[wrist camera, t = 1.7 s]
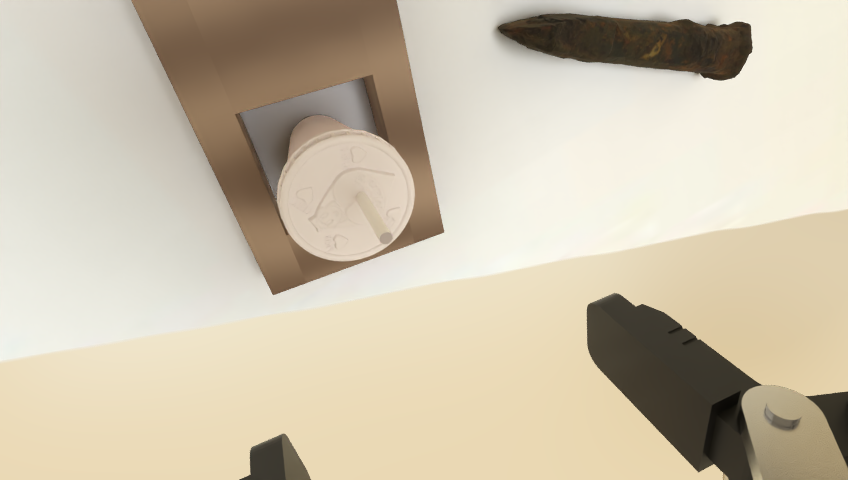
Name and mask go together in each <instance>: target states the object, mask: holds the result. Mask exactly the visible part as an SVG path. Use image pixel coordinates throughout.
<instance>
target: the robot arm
mask: <svg viewBox="0 0 848 480" xmlns="http://www.w3.org/2000/svg"><path fill="white" fill-rule="evenodd" d="M587 344H588V350H589V353H590V355H591V357H592V359H593V361H594V363H595V364H596V365H597V367H598V368H599V369H600V370H601V371H602V372H603V373H604V374H605V375H606V376H607V377H608V378H609V379H610V380H611V382H613V384H614V385H615V386H616V387H617V388H618V389H619V390H620V391H621V392H622V393H623V394H624V395H625V396H626V397H627V398H628V399H629V400H630V401H631V402H632V403H633V404H634V406H635V407H636V408H637V409H638V410H639V411H640V412H641V413H642V414H643V415H644V416H645V417H646V418H647V419H648V420H649V421H650V422H651V423H652V424H653V425H654V426H655V427H656V428H657V429H658V430H659V432H660V433H661V434H662V435H663V436H664V437H665V438H666V439H667V440H668V441H669V442H670V443H671V444H672V445H673V446H674V447H675V448H676V449H677V450H678V451H679V452H680V453H681V455H682V456H684V458H685V459H686V460H687V461H688V462H689V463H690V464H691V465H692V466H693V467H694V468H695V469H696V470H697V471H698V472H700V471H701V470H704V469H705V468H707V467H709V466H711V465H713V464H715V465H716V466H717V467H718V468H719V469H720V470H721V471H722V472H723V480H848V392H840V393H832V394H824V395H816V396H804V395H802V394H800V393H798V392H796V391H794V390H791V389H788V388H785V387H780V386H775V385H761V384H759V383H757V382H756V381H754V380H753V379H752V378H750V377H749V376H748V375H746V374H745V373H744V372H742V371H741V370H740V369H738V368H737V367H736V366H734V365H733V364H732V363H731V362H729V361H728V360H727V359H725V358H724V357H722V356H721V355H720V354H719V353H717V352H716V351H715V350H713V349H712V348H711V347H709V346H708V345H707V344H705V343H704V342H703V341H701V340H697V338H696V336H695V335H693V334H692V333H691V332H689V331H688V330H687V329H683V328H682V326H681V325H680V324H679V323H677V322H676V321H675V320H673V319H672V318H671V317H669V316H668V315H667V314H665V313H664V312H661V311H659V310H656V309H654V308H651V307H649V306H646V305H643V304H641V305H639V306H637V307H635V306H634V305H632V303H630V302H629V301H628V300H626V299H625V298H624V297H623V296H621V295H619V294H615V293H614V294H611V295H609V296H607V297H604V298H602V299H600V300H597V301H595V302H593V303H590V304H589V305H588V307H587ZM250 472H251V475H249V476H247V477H244V478H242V479H240V480H311V479H310V477H309V474H308V472H307V470H306V468H305V466H304V465H303V463H302V461H301V459H300V458H299V456H298V454H297V452H296V451H295V449H294V447H293V446H292V444H291V442H290V441H289V439H288V437H287V436H286V435H285V434H281V435H279V436H277V437H274V438H272V439H270V440H268V441H265V442H263V443H260V444H258V445H256V446H253V447H252V448H251V451H250Z"/></svg>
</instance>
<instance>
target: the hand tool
mask: <svg viewBox="0 0 848 480" xmlns="http://www.w3.org/2000/svg"><path fill="white" fill-rule="evenodd" d="M499 30H500V32H501V33H503V34H504V35H505V36H507V37H509V38H511V39H513V40H515V41H517V42H518V43H519V44H522V45H524V46H526V47H527V48H529V49H533V50H536V51H540V52H543V53H546V54H549V55H553V56H557V57H560V58H571V59H575V60H578V61H582V62H602V63H613V64H624V65H631V66H637V67H645V68H655V69H669V70H676V71H688V72H695V73H700V74H701V75H702V76H703V77H704V78H710V79H713V80H720V81H721V80H726V79H731V78H735V77H736V76H737V75H738V74H739V73H740V71H741V69H742V67H743V66H744V64H745V63H746V60H747V58H748V56H749V54H750V53H752V39H751V26H750V25H749V24H748V23H744V22H734V23H732V24H729V25H726V24H723V25H720V26H716V25H712V24H707V25H706V26H704V25H700V24H697V23H695V22H692V21H691V20H688V19H683V20H677V21H673V22H670V23H668V22H660V21H648V20H631V19H619V18H609V17H601V16H584V15H577V14H547V15H540V16H538V17H532V18H529V19H523V20H518V21H515V22H511V23H506V24H503V25H501V26H500V27H499Z"/></svg>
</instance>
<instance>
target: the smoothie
mask: <svg viewBox="0 0 848 480" xmlns="http://www.w3.org/2000/svg"><path fill="white" fill-rule="evenodd" d="M414 199H415V189H414V182H413V178H412V175H411V172H410V170H409V168H408V166H407V164H406V163H405V161H404V160H403V159H402V157H401V156H400V155H399V153H398V152H397V151H396V149H395V148H394V147H393V146H392V145H390V144H389V143H388V142H386V141H385V140H384V139H382V138H381V137H379V136H377V135H374V134H371V133H369V132H366V131H363V130H353V129H351V128H349V127H348V126H346V125H344V124H342V123H340V122H339V121H337V120H335V119H333V118H331V117H328V116H324V115H314V116H310V117H307V118H305V119H303V120H302V121H300V122H299V123H298V124H297V125H296V126H295V128H294V129H293V131H292V133H291V137H290V143H289V152H288V161H287V163H286V164H285V166H284V167H283V170H282V173H281V176H280V179H279V182H278V188H277V204H278V208H279V212H280V216H281V219H282V220H283V223H284V225H285V227H286V229H287V231H288V233H289V234H290V236H291V237H292V238H293V239H294V241H295V242H296V243H297V244H298V245H299V246H301V247H302V248H303V249H305V250H306V251H308V252H309V253H311V254H313V255H315V256H317V257H320V258H323V259H327V260H332V261H354V260H359V259H363V258H366V257H369V256H371V255H374V254H376V253H378V252H379V251H381V250H383V249H384V248H386V247H387V246H388V245H390V244H391V243H392V242H393V241H394V240H395V239H396V238H397V237H398V236H399V235H400V234H401V232H402V231H403V229H404V228H405V226H406V225H407V223H408V221H409V219H410V216H411V213H412V210H413V206H414Z"/></svg>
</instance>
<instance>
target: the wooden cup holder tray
mask: <svg viewBox="0 0 848 480" xmlns="http://www.w3.org/2000/svg"><path fill="white" fill-rule="evenodd" d="M131 1H132V3H133V5H134V7H135V9H136V11H137V13H138V15H139V17H140V19H141V21H142V23H143V26H144V28H145V30H146V32H147V34H148V36H149V38H150V40H151V42H152V44H153V46H154V48H155V51H156V53H157V55H158V57H159V59H160V61H161V63H162V65H163V67H164V69H165V71H166V73H167V75H168V78H169V80H170V82H171V84H172V86H173V88H174V90H175V92H176V94H177V96H178V98H179V100H180V103H181V105H182V107H183V109H184V111H185V113H186V115H187V117H188V119H189V121H190V123H191V125H192V128H193V130H194V132H195V134H196V136H197V138H198V140H199V142H200V144H201V146H202V148H203V150H204V152H205V155H206V157H207V159H208V161H209V163H210V165H211V167H212V169H213V171H214V173H215V175H216V177H217V180H218V182H219V184H220V186H221V188H222V190H223V192H224V194H225V196H226V198H227V200H228V202H229V205H230V207H231V209H232V211H233V213H234V215H235V217H236V219H237V221H238V223H239V225H240V227H241V230H242V232H243V234H244V236H245V238H246V240H247V242H248V244H249V246H250V248H251V250H252V252H253V254H254V257H255V259H256V261H257V263H258V265H259V267H260V269H261V271H262V273H263V275H264V277H265V279H266V282H267V284H268V286H269V288H270V290H271V292H272V294H273V295H275V294H278V293H280V292H283V291H286V290H289V289H291V288H294V287H297V286H299V285H302V284H305V283H308V282H310V281H313V280H316V279H319V278H321V277H324V276H327V275H329V274H332V273H335V272H338V271H340V270H343V269H346V268H348V267H351V266H354V265H357V264H359V263H362V262H365V261H368V260H370V259H373V258H376V257H378V256H381V255H384V254H387V253H389V252H392V251H395V250H398V249H400V248H403V247H406V246H408V245H411V244H414V243H417V242H419V241H422V240H425V239H427V238H430V237H433V236H436V235H438V234H441V233H444V229H443V224H442V219H441V214H440V210H439V205H438V200H437V195H436V190H435V185H434V180H433V176H432V171H431V166H430V161H429V156H428V151H427V147H426V142H425V137H424V132H423V127H422V122H421V117H420V113H419V108H418V103H417V98H416V93H415V88H414V84H413V79H412V74H411V69H410V64H409V59H408V55H407V50H406V45H405V40H404V35H403V30H402V25H401V21H400V16H399V11H398V6H397V1H396V0H131ZM359 78H363V79H364V83H365V86H366V90H367V94H368V98H369V102H370V105H371V109H372V113H373V117H374V121H375V125H376V128H377V132H378V136H379V137H381V138H382V139H384V140H385V141H386V142H388V143H389V144H390V145H392V146H393V147H394V148H395V149H396V151H397V152H398V153H399V155H400V156H401V157H402V159H403V160H404V161H405V163H406V164H407V166H408V168H409V170H410V172H411V175H412V178H413V182H414V189H415V199H414V206H413V210H412V213H411V216H410V219H409V221H408V223H407V225H406V226H405V228H404V229H403V231H402V232H401V234H400V235H399V236H398V237H397V238H396V239H395V240H394V241H393V242H392V243H391V244H390V245H388V246H387V247H386V248H384V249H383V250H381V251H379V252H378V253H376V254H374V255H371V256H369V257H366V258H363V259H359V260H354V261H332V260H327V259H323V258H320V257H317V256H315V255H313V254H311V253H309V252H308V251H306V250H305V249H303V248H302V247H301V246H299V245H298V244H297V243H296V242H295V241H294V239H293V238H292V237H291V236H290V234H289V233H288V231H287V229H286V227H285V225H284V223H283V220H282V219H281V216H280V212H279V208H278V204H277V202H276V199H275V197H274V195H273V192H272V190H271V187H270V185H269V183H268V180H267V178H266V175H265V173H264V171H263V168H262V166H261V163H260V161H259V159H258V156H257V154H256V151H255V149H254V147H253V144H252V142H251V139H250V137H249V135H248V132H247V130H246V127H245V125H244V123H243V120H242V118H241V115H240V113H241V112H245V111H248V110H251V109H255V108H258V107H262V106H265V105H269V104H272V103H276V102H279V101H283V100H286V99H290V98H293V97H297V96H300V95H304V94H307V93H311V92H314V91H318V90H321V89H324V88H328V87H331V86H335V85H338V84H342V83H345V82H349V81H352V80H356V79H359Z"/></svg>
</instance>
